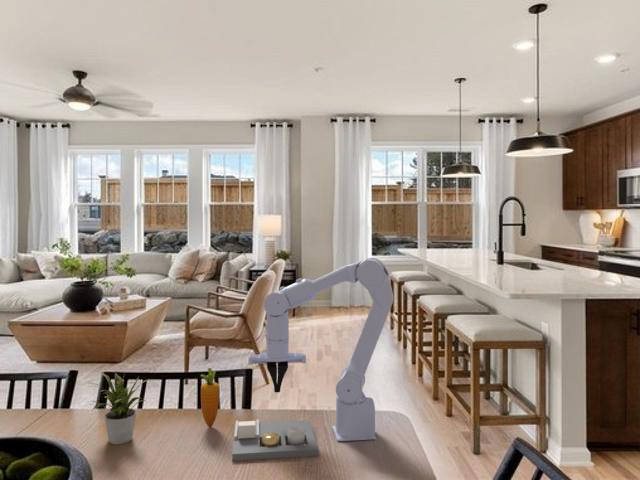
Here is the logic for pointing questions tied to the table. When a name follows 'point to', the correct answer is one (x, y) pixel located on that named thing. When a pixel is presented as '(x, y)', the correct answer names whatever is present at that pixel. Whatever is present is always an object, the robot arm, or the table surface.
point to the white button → (296, 436)
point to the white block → (246, 429)
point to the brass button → (270, 439)
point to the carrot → (209, 398)
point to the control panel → (252, 449)
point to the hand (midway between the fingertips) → (277, 391)
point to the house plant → (119, 411)
